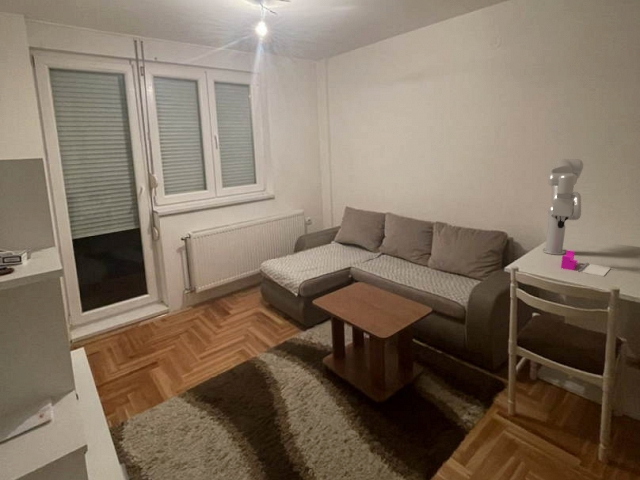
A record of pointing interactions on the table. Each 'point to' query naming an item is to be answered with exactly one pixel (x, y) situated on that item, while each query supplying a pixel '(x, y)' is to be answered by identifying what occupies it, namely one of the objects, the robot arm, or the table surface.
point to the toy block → (569, 261)
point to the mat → (594, 269)
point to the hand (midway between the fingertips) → (560, 227)
